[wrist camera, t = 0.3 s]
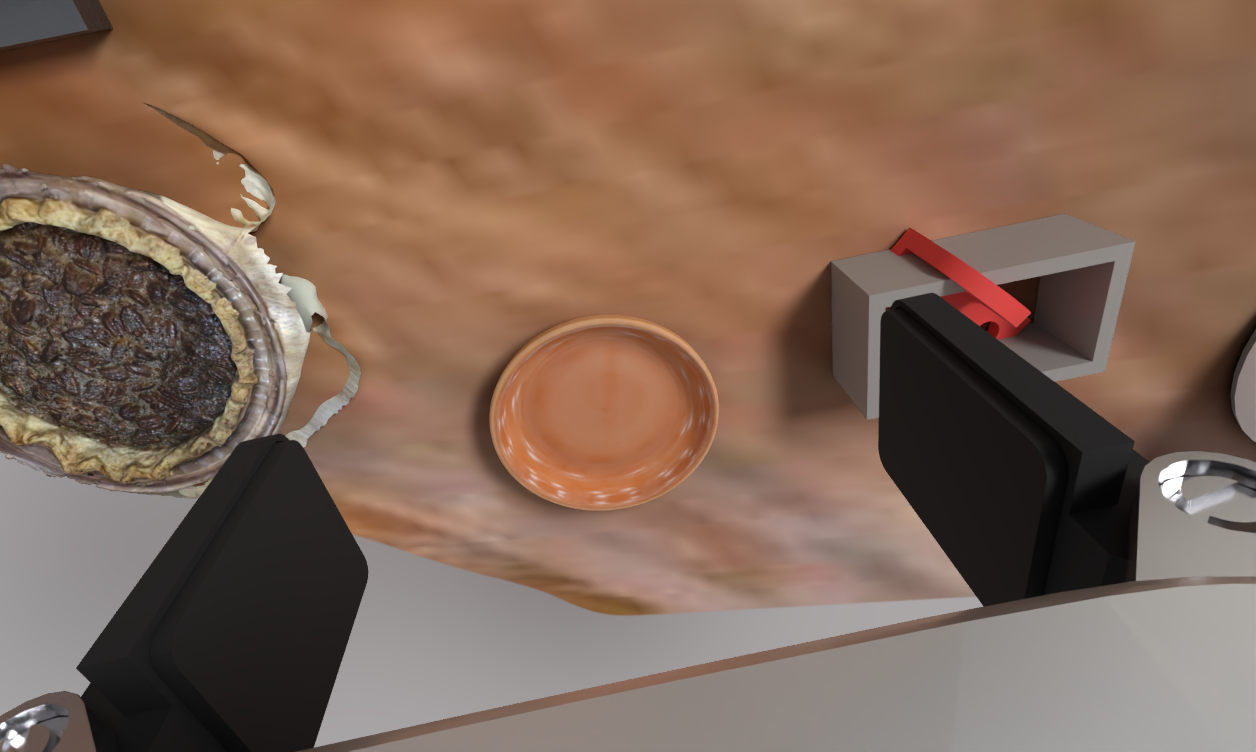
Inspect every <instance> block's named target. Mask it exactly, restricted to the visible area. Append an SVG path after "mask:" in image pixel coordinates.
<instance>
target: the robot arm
mask: <svg viewBox="0 0 1256 752" xmlns="http://www.w3.org/2000/svg"><path fill="white" fill-rule="evenodd" d="M1133 445H1134V441H1133V440H1132V439H1131V438H1129V437H1128V436H1127V435H1125V434H1124V433H1123V432H1121V431H1120V430H1119V429H1117V428H1116V427H1115V426H1113V425H1112V424H1111V423H1109V422H1108V421H1106V420H1105V419H1104V418H1102V417H1101V416H1100V415H1098V414H1097V413H1096V412H1094V411H1093V410H1092V409H1090V408H1089V407H1088V406H1086V405H1085V404H1084V403H1082V402H1081V401H1080V400H1078V399H1077V398H1076V397H1074V396H1073V395H1072V394H1070V393H1069V392H1067V391H1066V390H1065V389H1063V388H1062V387H1061V386H1059V385H1058V384H1057V383H1055V382H1054V381H1053V380H1051V379H1050V378H1049V377H1047V376H1046V375H1045V374H1043V373H1042V372H1041V371H1039V370H1038V369H1037V368H1035V367H1034V366H1033V365H1031V364H1030V363H1029V362H1027V361H1026V360H1024V359H1023V358H1022V357H1020V356H1019V355H1018V354H1016V353H1015V352H1014V351H1012V350H1011V349H1010V348H1008V347H1007V346H1006V345H1004V344H1003V343H1002V342H1000V341H999V340H998V339H996V338H995V337H994V336H992V335H991V334H990V333H988V332H987V331H986V330H984V329H983V328H981V327H980V326H979V325H977V324H976V323H975V322H973V321H972V320H971V319H969V318H968V317H967V316H965V315H964V314H963V313H961V312H960V311H959V310H957V309H956V308H955V307H953V306H952V305H951V304H949V303H948V302H947V301H945V300H944V299H943V298H941V297H940V296H938V295H937V294H935V293H927V294H922V295H918V296H913V297H908V298H904V299H899V300H895V301H894V302H893V303H892V306H891V308H890V311H887V312H884V313H883V314H882V316H881V322H880V379H879V441H878V447H879V455H880V459H881V462H882V464H883V467H884V468H885V470H886V472H887V473H888V474H889V476H890V477H891V479H892V480H893V481H894V483H895V484H896V485H897V487H898V488H899V490H900V491H901V492H902V494H903V495H904V497H905V498H906V499H907V501H908V502H909V503H910V505H911V506H912V508H913V509H914V510H915V512H916V513H917V515H918V516H919V517H920V519H921V520H922V522H923V523H924V524H925V526H926V527H927V528H928V530H929V531H930V533H931V534H932V535H933V537H934V538H935V540H936V541H937V542H938V544H939V545H940V546H941V548H942V549H943V551H944V552H945V553H946V555H947V556H948V558H949V559H950V560H951V562H952V563H953V565H954V566H955V567H956V569H957V570H958V571H959V573H960V574H961V576H962V577H963V578H964V580H965V581H966V583H967V584H968V585H969V587H970V588H971V589H972V591H973V592H974V594H975V595H976V596H977V598H978V599H979V601H980V602H981V603H982V605H983V606H984V607H980V608H974V609H969V610H964V611H959V612H953V613H948V614H943V615H938V616H932V617H927V618H923V619H917V620H912V621H908V622H903V623H898V624H893V625H888V626H883V627H879V628H874V629H869V630H865V631H859V632H855V633H850V634H845V635H840V636H836V637H830V638H826V639H821V640H816V641H811V642H806V643H802V644H797V645H792V646H787V647H782V648H778V649H773V650H768V651H763V652H758V653H754V654H748V655H744V656H739V657H734V658H729V659H724V660H720V661H715V662H710V663H705V664H701V665H696V666H691V667H686V668H682V669H677V670H672V671H668V672H663V673H658V674H653V675H649V676H644V677H639V678H635V679H630V680H626V681H621V682H616V683H612V684H606V685H602V686H597V687H593V688H588V689H583V690H578V691H574V692H569V693H564V694H560V695H555V696H550V697H546V698H541V699H536V700H531V701H527V702H522V703H517V704H513V705H509V706H503V707H499V708H494V709H490V710H485V711H480V712H475V713H471V714H467V715H462V716H457V717H453V718H448V719H443V720H439V721H434V722H430V723H426V724H421V725H416V726H411V727H407V728H402V729H398V730H393V731H389V732H384V733H379V734H375V735H370V736H366V737H361V738H357V739H352V740H347V741H343V742H339V743H334V744H329V745H325V746H321V747H316V748H314V745H315V742H316V738H317V735H318V732H319V729H320V726H321V723H322V720H323V717H324V714H325V711H326V708H327V704H328V701H329V698H330V695H331V692H332V689H333V686H334V683H335V680H336V676H337V674H338V670H339V667H340V664H341V661H342V658H343V655H344V652H345V649H346V646H347V643H348V640H349V636H350V633H351V630H352V627H353V624H354V620H355V618H356V615H357V612H358V608H359V605H360V602H361V599H362V596H363V593H364V590H365V587H366V584H367V579H368V566H367V562H366V559H365V557H364V555H363V553H362V551H361V550H360V548H359V546H358V544H357V543H356V541H355V539H354V537H353V535H352V534H351V532H350V530H349V528H348V526H347V525H346V523H345V521H344V519H343V518H342V516H341V514H340V512H339V510H338V509H337V507H336V505H335V503H334V501H333V500H332V498H331V496H330V494H329V493H328V491H327V489H326V487H325V485H324V484H323V482H322V480H321V478H320V477H319V475H318V473H317V471H316V469H315V468H314V466H313V464H312V462H311V460H310V459H309V457H308V455H307V453H306V452H305V450H304V448H303V447H302V445H301V444H300V443H299V442H298V441H296V440H289V439H288V438H287V437H286V436H284V435H282V434H274V435H270V436H265V437H261V438H256V439H251V440H247V441H243V442H240V443H239V444H238V445H237V446H236V447H235V449H234V450H233V452H232V453H231V454H230V456H229V457H228V458H227V460H226V461H225V463H224V464H223V465H222V467H221V468H220V470H219V471H218V472H217V474H216V475H215V476H214V478H213V479H212V481H211V482H210V483H209V485H208V486H207V488H206V489H205V490H204V492H203V493H202V494H201V496H200V497H199V499H198V500H197V501H196V503H195V504H194V506H193V507H192V508H191V510H190V511H189V513H188V514H187V515H186V517H185V518H184V520H183V521H182V522H181V524H180V525H179V526H178V528H177V529H176V531H175V532H174V533H173V535H172V536H171V538H170V539H169V540H168V542H167V543H166V544H165V546H164V547H163V549H162V550H161V551H160V553H159V554H158V556H157V557H156V558H155V560H154V561H153V562H152V564H151V565H150V567H149V568H148V569H147V571H146V572H145V573H144V575H143V576H142V578H141V579H140V580H139V582H138V583H137V585H136V586H135V587H134V589H133V590H132V592H131V593H130V594H129V596H128V597H127V599H126V600H125V601H124V603H123V604H122V605H121V607H120V608H119V609H118V611H117V612H116V614H115V615H114V616H113V618H112V619H111V621H110V622H109V623H108V625H107V626H106V628H105V629H104V630H103V632H102V633H101V634H100V636H99V637H98V639H97V640H96V641H95V643H94V644H93V646H92V647H91V648H90V650H89V651H88V652H87V654H86V655H85V657H84V658H83V659H82V661H81V662H80V664H79V665H78V666H77V668H76V669H77V670H78V671H79V672H80V673H82V674H83V675H84V676H85V677H86V678H87V679H88V680H89V681H90V682H91V683H90V685H89V686H88V688H87V689H86V691H85V692H84V694H83V695H82V696H81V697H80V696H79V695H78V694H75V693H71V692H67V691H63V692H55V693H48V694H45V695H42V696H40V697H37V698H35V699H32V700H29V701H26V702H25V703H23V704H21V705H19V706H17V707H16V708H14V709H12V710H10V711H8V712H6V713H5V714H3V715H1V716H0V752H1256V462H1253V461H1251V460H1247V459H1243V458H1239V457H1235V456H1231V455H1226V454H1222V453H1212V452H1202V451H1188V452H1174V453H1170V454H1167V455H1163V456H1160V457H1156V458H1155V459H1154V460H1152V461H1151V462H1149V461H1147V460H1146V459H1145V458H1144V457H1142V456H1141V455H1140V454H1138V453H1137V452H1136V451H1134V450H1133Z"/></svg>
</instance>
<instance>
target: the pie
mask: <svg viewBox="0 0 1256 752" xmlns="http://www.w3.org/2000/svg"><path fill="white" fill-rule="evenodd" d="M145 104H146V103H145ZM147 105H148V104H147ZM148 106H150V107H152V108H154V109H155V110H156V111H158V112H159V113H161V114H162V115H164V116H165V117H167V118H168V119H170V120H171V121H172V122H174V123H176V124H177V125H178V126H180V127H182V128H184V129H185V130H187V131H189V132H190V133H192V134H194V135H195V136H197V137H199V138H200V139H201V140H202V141H203V142H204V143H205V144H206V145H207V146H208V147H210V148H211V149H213V156H214V158H215V159H217V160H219V158H220V157H222V156H224V155H226V154H228V153H236V154H238V155H240V156H241V157H242V158H244V160H245V161H246V163H245V165H244V164H240V167H241V168H243V169H244V170H245V175H246V177H245V178H244V179H242V181H241V182H242V184H243V185H244V186H245V189H246V190H247V192H250V193H251V194H252V195H254V196H255V197H257V198H259V199H261V200H265V201H266V202H267V205H268V206H269V209H268V210H267V209H265V208H263V207H261V206H259V205H258V204H257V203H256V202H254V201H253V200H250V199H248V198H244V197H242V194H241V197H242V198H243V199H244V200H245V201H246V203H247V204H248V206H249V207H250V208H251V209H253V210H254V212H255V214H256V215H257V216H258V217H259V219H260V221H259V222H254V221H252V222H249V221H247V220H246V219H245V218H243V215H242V213H241V211H239V210H238V209H234V208H231V214H232V215H233V218H234V219H235V220H236V221H237V222H238V223H241V224H243V225H244V226H245V227H243V228H238V227H234V225H233V226H229V225H226V224H223V223H221V222H218V221H216V220H214V219H212V218H210V217H208V216H205V215H203V214H201V213H199V212H197V211H195V210H193V209H191V208H189V207H187V206H185V205H182V204H179V203H177V202H175V201H173V200H171V199H169V198H166V197H164V196H161V195H157V194H153V193H149V192H145V191H140V190H135V189H130V188H126V187H122V186H119V185H116V184H114V183H111V182H108V181H105V180H101V179H98V178H93V177H87V176H75V177H66V176H59V175H47V174H41V173H37V172H33V171H29V170H27V169H25V168H22V169H18V168H15V167H13V166H11V165H9V164H6V163H4V164H2V165H1V166H2V169H0V452H1V453H7V455H6V456H5V457H6V458H7V459H15V460H18V462H20V463H21V464H24V465H28V466H30V467H31V468H34V469H35V470H43V472H44V473H46V475H47V476H50V477H51V476H53V477H56V476H58V477H64V476H67V477H68V478H70V479H75V480H76V481H78V482H79V483H81V484H88V485H90V484H92V483H93V484H96V485H97V486H96V487H98V488H103V489H108V490H110V491H122V492H129V493H138V494H147V495H161V496H173V497H176V498H187V499H197V498H199V497H200V496H201V494H202V493H203V492H204V490H205V489H206V488H207V486H208V485H209V483H210V482H211V481H212V479H213V478H214V476H215V475H216V474H217V472H218V471H219V470H220V468H221V467H222V465H223V464H224V463H225V461H226V460H227V458H228V457H229V456H230V454H231V453H232V452H233V450H234V449H235V447H236V446H237V445H238V444H239V443H240V442H243V441H247V440H251V439H256V438H261V437H265V436H270V435H274V434H278V433H279V431H280V430H281V428H282V425H283V423H284V420H285V417H286V415H287V412H288V409H289V406H290V403H291V400H292V398H293V396H294V394H295V391H296V388H297V384H298V382H299V379H300V376H301V369H302V364H303V361H304V358H305V354H306V350H307V347H308V343H309V339H310V334H311V326H312V321H313V320H312V317H311V316H312V315H313V314H314V313H315V312H316V313H318V314H320V315H321V316H323V317H324V320H325V321H323V322H322V323H321V324H320V325H319V326H317V327H315V328H313V331H314V332H317V333H319V334H320V335H321V336H322V338H323V339H324V341H325V342H326V343H328V344H329V345H331V346H332V347H334V348H336V349H338V350H340V351H341V352H343V353H344V354H345V356H346V358H347V363H348V366H349V368H350V372H351V374H350V377H349V379H348V381H347V383H346V385H345V387H344V389H343V390H342V391H341V392H340V393H339V394H338V395H336V396H334V397H333V398H331V399H329V400H327V401H326V402H324V403H323V404H322V405H320V407H319V408H318V409H317V411H316V413H315V414H314V416H313V418H312V419H311V420H310V421H309V423H308V424H307V425H306V426H305V427H304V428H302V429H300V430H297V431H292V432H290V433H289V434H287V435H286V437H287V438H288V439H289V440H296V441H298V442H299V443H300V444H301V445H302V447H305V446H306V444H307V439H308V438H309V437H310V436H311V435H312V434H313V433H314V432H315V431H319V430H320V427H321V426H325V425H326V423H327V421H328V419H329V418H330V417H331V416H332V415H333V414H334V413H338V410H341V409H342V406H343V405H347V404H348V403H349V401H350V398H351V397H354V396H355V393H356V392H357V390H358V381H359V379H360V377H361V370H360V367H359V365H358V364H357V362H356V359H354V358H353V356H352V354H349V353H348V352H347V351H346V349H345V347H344V346H343V345H341V344H340V343H338V342H337V341H335V340H334V339H332V337H331V335H330V332H329V330H330V328H329V327H328V325H327V323H326V320H327V317H328V316H327V313H326V311H325V309H324V307H323V306H322V304H321V303H320V301H319V300H318V297H317V294H316V288H315V286H314V285H313V284H312V283H311V282H309V281H308V280H306V279H303V278H299V277H293V276H288V275H282V274H283V273H278V274H276V272H275V268H276V267H277V266H275V265H271V264H267V263H268V261H269V259H270V258H269V257H268V256H266V255H265V254H264V250H263V249H261V248H257V243H256V237H254V236H252V235H250V234H248V233H249V232H255V231H257V230H258V227H259V225H260V224H261V222H263V221H265V220H266V219H267V217H268V216H270V215H271V213H272V210H273V208H274V206H275V195H274V192H273V189H272V188H271V186H270V185H269V184H268V182H267V180H266V179H265V178H264V177H263V176H262V175H261V174H260V173H259V172H258V171H257V170H256V169H255V168H254V167H253V166H252V165H251V164H250V162H249V161H248V160H247V159H246V158H245V157H243V156H242V155H241V154H239V153H238V152H236V151H234V150H233V149H231V148H229V147H227V146H226V145H224V144H222V143H221V142H219V141H217V140H216V139H214V138H213V137H211V136H210V135H208V134H207V133H205V132H203V131H201V130H199V129H198V128H196V127H195V126H193V125H191V124H189V123H187V122H185V121H183V120H181V119H179V118H178V117H175V116H173V115H171V114H169V113H167V112H165V111H163V110H160V109H158V108H156V107H153V106H151V105H148ZM216 163H217V164H219V162H216ZM251 224H254V225H255V226H254V227H251ZM280 278H281V281H280V284H279V283H278V282H279V280H280ZM205 481H208V482H206V483H205V485H204V486H197V487H193V485H196V484H199V483H202V482H205Z"/></svg>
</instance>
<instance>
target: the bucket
mask: <svg viewBox="0 0 1256 752" xmlns="http://www.w3.org/2000/svg"><path fill="white" fill-rule="evenodd" d="M1231 403H1232V411H1233V413H1234V416H1235V418H1236V420H1237V423H1238V424H1239V425H1240V426H1241V428H1242V430H1243V431H1244V432H1245V433H1246V434H1247V435H1248V436H1249V437H1250V438H1251V439H1252V440H1253V441H1254V442H1256V329H1255V330H1254V332H1253V334H1252V336H1251V337H1250V339H1249V341H1248V342H1247V344H1246V346H1245V347H1244V349H1243V352H1242V354H1241V357H1240V359H1239V362H1238V364H1237V367H1236V369H1235V372H1234V377H1233V383H1232V388H1231Z"/></svg>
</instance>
